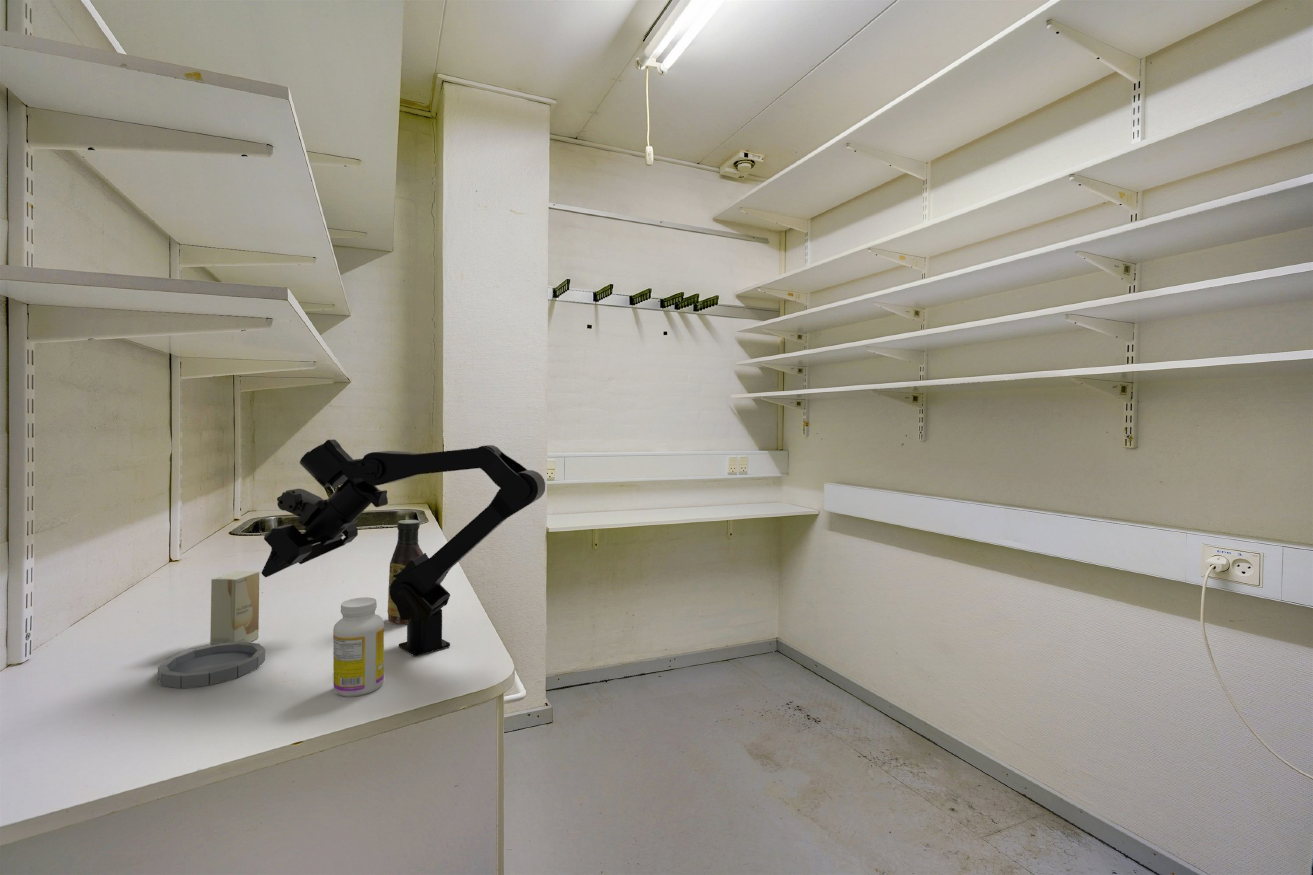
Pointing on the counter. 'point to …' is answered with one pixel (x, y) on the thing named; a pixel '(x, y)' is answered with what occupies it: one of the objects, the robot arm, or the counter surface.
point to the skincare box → (235, 607)
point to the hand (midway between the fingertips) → (282, 568)
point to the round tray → (211, 664)
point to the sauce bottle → (403, 559)
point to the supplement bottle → (358, 648)
